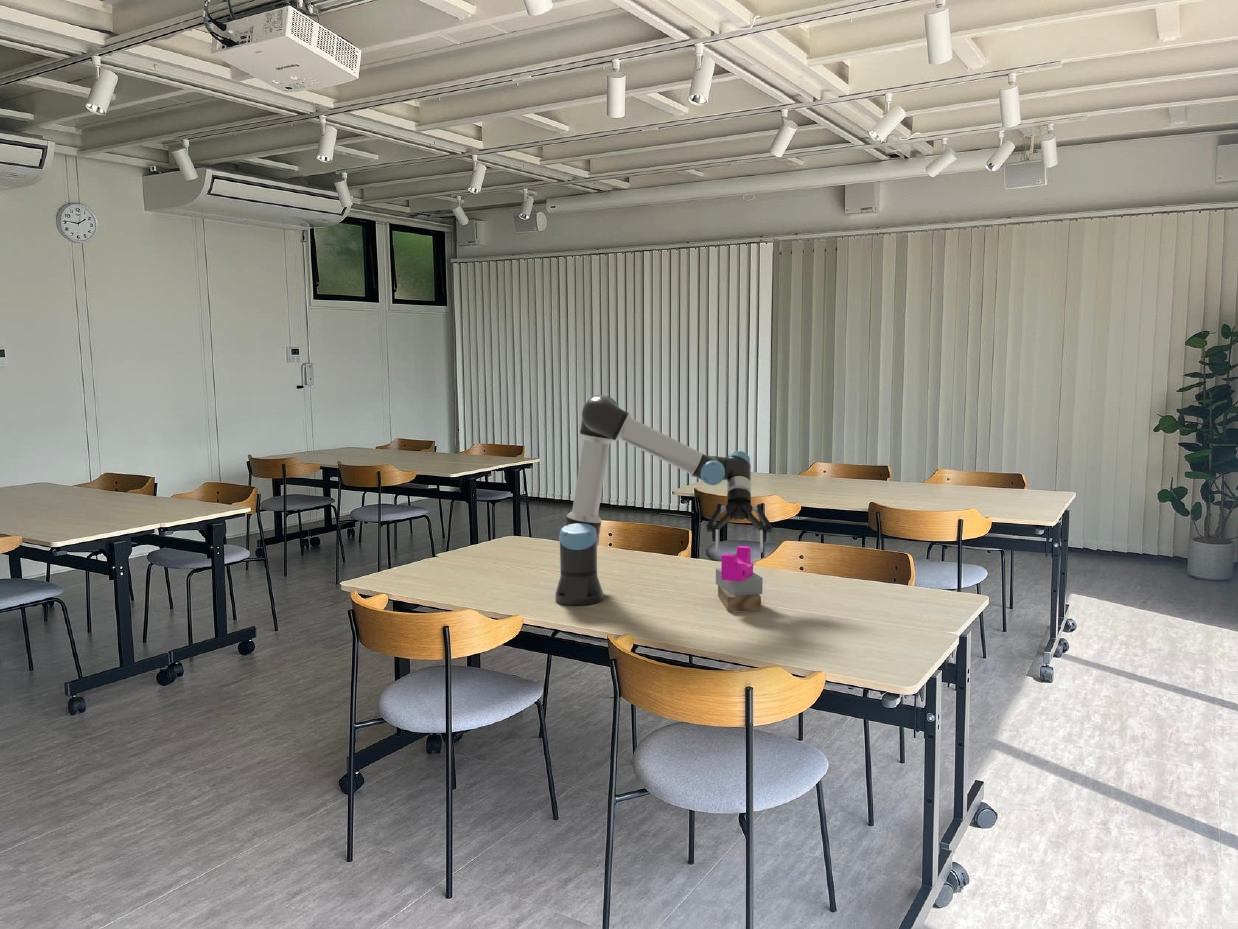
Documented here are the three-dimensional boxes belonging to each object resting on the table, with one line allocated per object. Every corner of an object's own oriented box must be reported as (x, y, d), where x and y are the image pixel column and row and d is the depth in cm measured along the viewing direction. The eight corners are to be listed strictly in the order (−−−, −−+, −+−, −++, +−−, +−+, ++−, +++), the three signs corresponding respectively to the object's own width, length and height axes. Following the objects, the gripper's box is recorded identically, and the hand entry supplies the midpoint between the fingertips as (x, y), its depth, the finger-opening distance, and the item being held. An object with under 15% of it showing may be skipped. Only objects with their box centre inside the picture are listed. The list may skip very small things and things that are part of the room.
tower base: (727, 613, 274) (727, 597, 273) (717, 598, 292) (717, 582, 291) (760, 612, 274) (760, 596, 274) (748, 597, 292) (749, 582, 292)
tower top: (734, 596, 275) (734, 579, 274) (715, 583, 290) (715, 568, 289) (762, 593, 277) (762, 577, 276) (742, 581, 292) (742, 566, 292)
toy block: (741, 581, 272) (741, 557, 271) (721, 579, 275) (721, 555, 274) (758, 571, 285) (758, 547, 284) (739, 569, 288) (739, 546, 287)
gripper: (777, 501, 294) (779, 557, 281) (700, 500, 297) (698, 555, 284) (778, 487, 288) (781, 543, 275) (699, 486, 291) (697, 542, 278)
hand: (739, 549), depth 279 cm, fingers open, 13 cm apart
